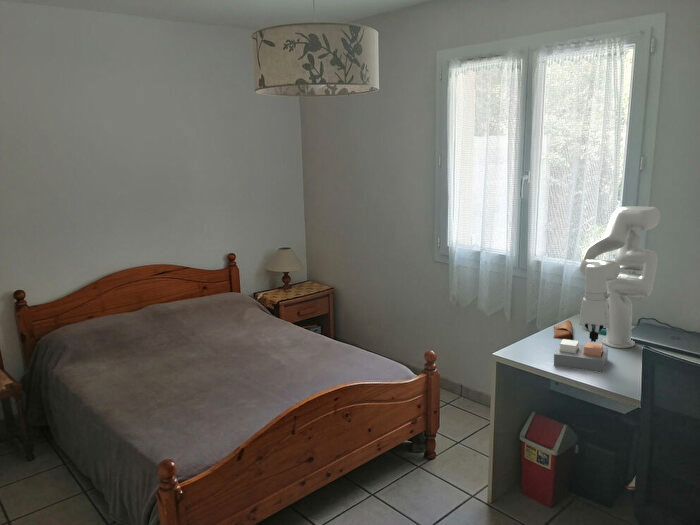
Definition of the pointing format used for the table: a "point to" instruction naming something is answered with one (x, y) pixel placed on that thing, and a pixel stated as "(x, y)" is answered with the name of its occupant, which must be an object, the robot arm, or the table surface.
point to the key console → (581, 360)
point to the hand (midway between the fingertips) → (593, 340)
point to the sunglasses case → (563, 331)
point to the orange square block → (593, 349)
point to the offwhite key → (569, 346)
